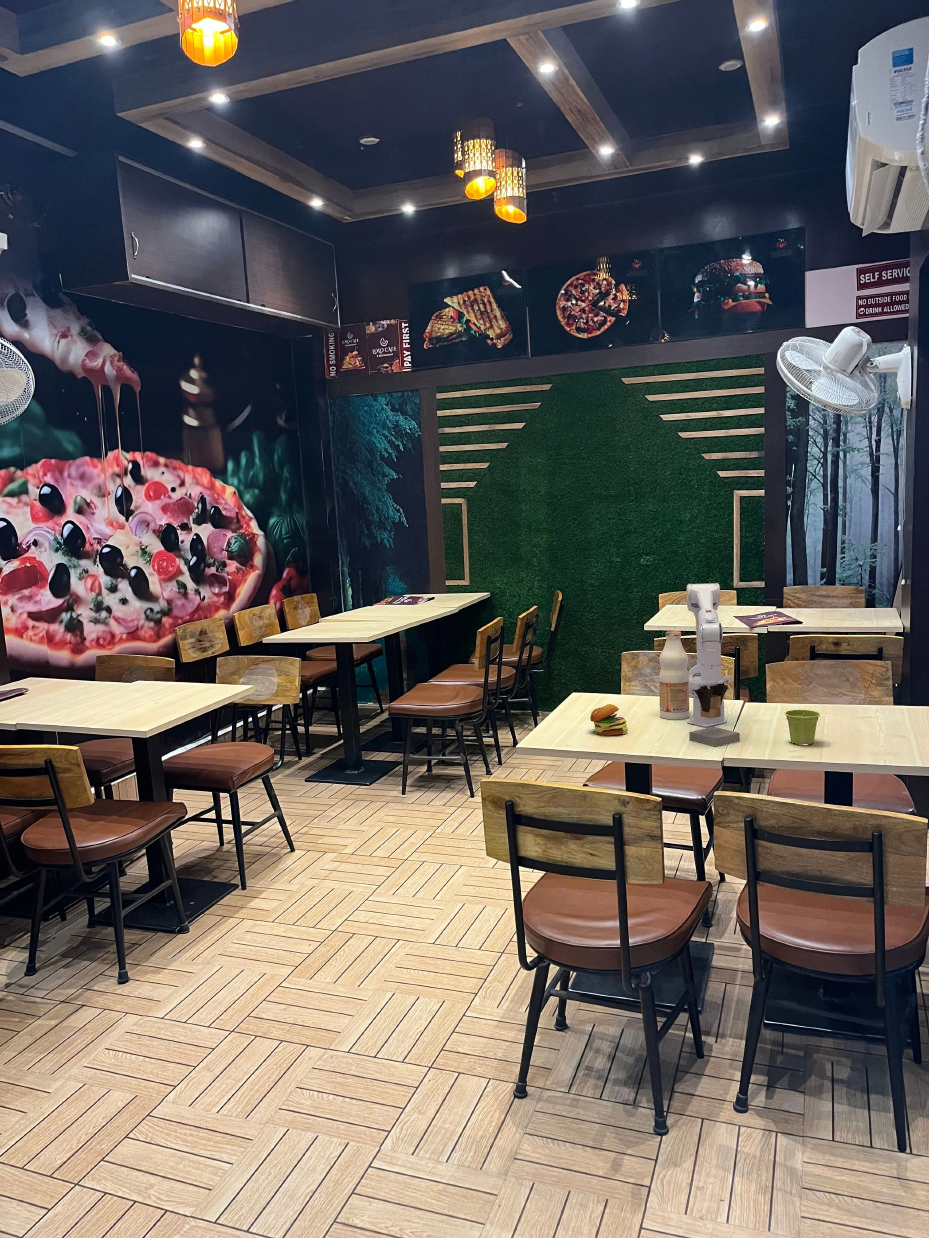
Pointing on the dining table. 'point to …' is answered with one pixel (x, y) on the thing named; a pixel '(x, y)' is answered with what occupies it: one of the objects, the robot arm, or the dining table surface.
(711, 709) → the walnut block
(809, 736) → the plant pot
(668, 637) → the fruit juice
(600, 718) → the cheeseburger
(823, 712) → the dining table surface
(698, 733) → the slate base
